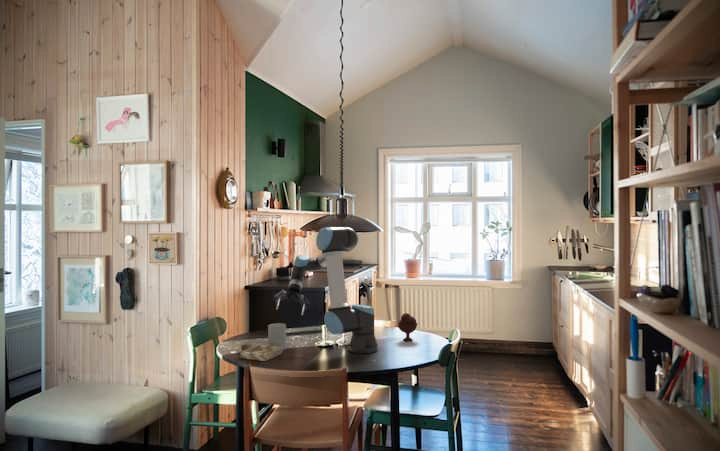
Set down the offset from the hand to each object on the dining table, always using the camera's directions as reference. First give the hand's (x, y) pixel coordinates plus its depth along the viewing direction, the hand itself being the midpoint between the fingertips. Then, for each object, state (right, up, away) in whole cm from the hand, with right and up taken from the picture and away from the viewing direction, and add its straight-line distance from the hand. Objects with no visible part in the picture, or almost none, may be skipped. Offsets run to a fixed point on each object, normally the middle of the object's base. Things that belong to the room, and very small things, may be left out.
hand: (289, 310), depth 255 cm
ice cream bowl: (+64, -20, +15) cm, 68 cm away
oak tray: (-12, -21, -11) cm, 27 cm away
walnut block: (-22, -21, -4) cm, 31 cm away
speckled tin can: (-7, -21, +3) cm, 22 cm away
